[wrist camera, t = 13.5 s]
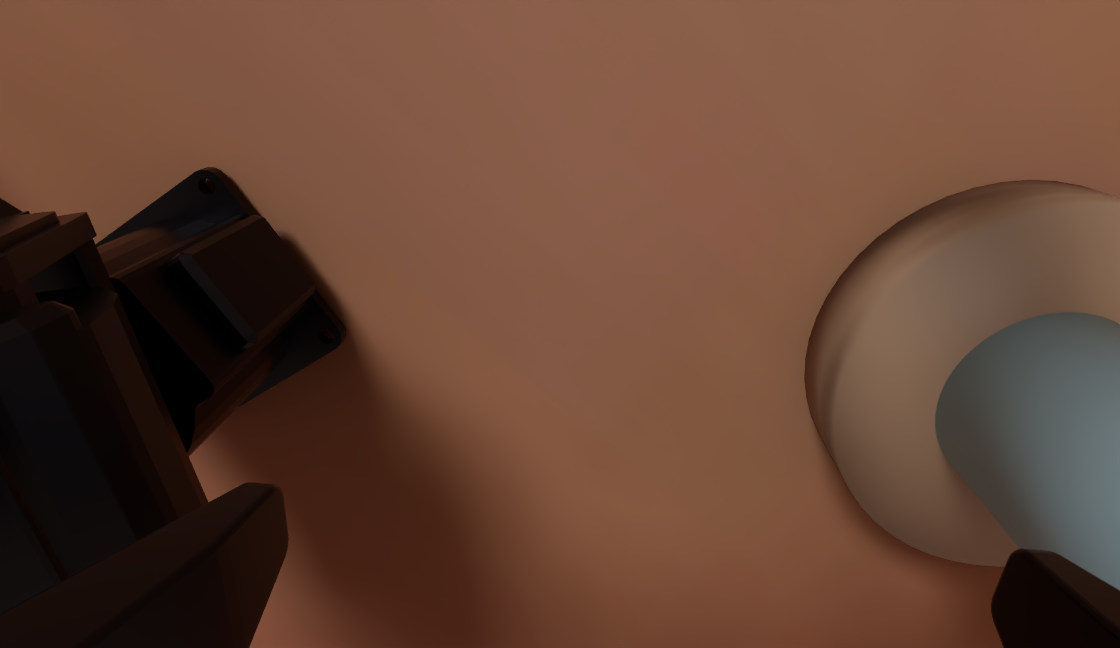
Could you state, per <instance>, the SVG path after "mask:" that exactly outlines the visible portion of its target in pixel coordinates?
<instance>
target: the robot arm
mask: <svg viewBox="0 0 1120 648" xmlns="http://www.w3.org/2000/svg"><path fill="white" fill-rule="evenodd" d="M206 179H210V180H211V181H212V182H213V183H214V185H215V192H211V191H210V190H209V189H208V188H207V186H206V184H205V183H206ZM95 236H97V235H96V232H95V230H94V228H93V225H92V223H91V221H90V218H89V216H88V214H87V212H82V213H75V214H69V215H63V216H57V215H56V212H55V211H51V212H42V213H34V214H30V213H29V211H26V212H22V211H20V210H19V209H17V208H15V207H14V206H12V205H10V204H9V203H7V202H6V201H4V200H2V199H1V198H0V648H249V647H250V644H251V642H252V639H253V637H254V634H255V632H256V629H257V627H258V624H259V622H260V619H261V617H262V614H263V612H264V609H265V607H266V604H267V602H268V599H269V597H270V594H271V592H272V589H273V587H274V584H275V582H276V579H277V576H278V574H279V571H280V569H281V566H282V564H283V561H284V559H285V556H286V553H287V548H288V530H287V522H286V514H285V506H284V498H283V493H282V491H281V489H280V488H279V487H278V486H277V485H274V484H262V483H245V484H243V485H240V486H238V487H237V488H235V489H233V490H231V491H229V492H227V493H225V494H223V495H222V496H220V497H218V498H216V499H214V500H212V501H210V502H209V503H208V500H207V498H206V496H205V493H204V491H203V489H202V486H201V484H200V482H199V480H198V477H197V475H196V473H195V470H194V468H193V466H192V463H191V461H190V459H189V456H190V455H191V454H192V453H193V452H194V451H195V450H196V449H197V448H198V447H199V446H200V445H201V444H202V443H203V442H204V441H205V440H206V439H207V438H208V437H209V435H210V434H211V433H212V432H213V431H214V430H215V429H216V428H217V427H218V426H219V425H220V424H221V423H222V422H223V421H224V420H225V419H226V418H227V417H228V416H229V415H230V414H231V413H232V412H233V411H234V410H235V409H236V408H237V407H239V406H241V405H242V404H244V403H246V402H247V401H249V400H251V399H252V398H254V397H256V396H257V395H259V394H261V393H262V392H264V391H266V390H267V389H269V388H271V387H272V386H274V385H276V384H277V383H279V382H281V381H282V380H284V379H286V378H288V377H289V376H291V375H293V374H294V373H296V372H298V371H299V370H301V369H303V368H304V367H306V366H308V365H309V364H311V363H313V362H314V361H316V360H318V359H319V358H321V357H323V356H324V355H326V354H328V353H329V352H331V351H333V350H335V349H336V348H337V347H338V346H339V345H340V344H341V343H342V342H343V341H344V339H345V336H346V329H345V327H344V325H343V324H342V322H341V321H340V320H339V318H338V317H337V316H336V315H335V313H334V312H333V311H332V310H331V308H330V307H329V306H328V304H327V303H326V302H325V301H324V299H323V298H322V297H321V296H320V294H319V293H318V292H317V290H316V289H315V282H314V281H313V279H312V278H311V277H310V276H309V274H308V273H307V272H306V270H305V269H304V268H303V267H302V265H301V264H300V263H299V262H298V260H297V259H296V258H295V256H294V255H293V254H292V253H291V251H290V250H289V249H288V247H287V246H286V245H285V244H284V242H283V241H282V240H281V238H280V237H279V236H278V235H277V233H276V232H275V231H274V230H273V228H272V227H271V226H270V224H269V223H268V222H267V221H266V219H265V218H263V217H260V216H258V215H257V214H256V213H255V211H254V210H253V209H252V208H251V206H250V205H249V204H248V202H247V201H246V200H245V199H244V197H243V196H242V195H241V194H240V192H239V191H238V190H237V188H236V187H235V186H234V185H233V183H232V182H231V181H230V180H229V178H228V177H227V176H226V175H225V174H224V173H223V172H222V171H221V170H219V169H217V168H214V167H207V168H204V169H201V170H199V171H196V172H194V173H193V174H191V175H190V176H189V177H187V178H186V179H185V180H183V181H182V182H181V183H179V184H178V185H176V186H175V187H174V188H172V189H171V190H170V191H168V192H167V193H165V194H164V195H163V196H161V197H160V198H159V199H157V200H156V201H155V202H153V203H152V204H150V205H149V206H148V207H146V208H145V209H144V210H142V211H141V212H139V213H138V214H137V215H135V216H134V217H133V218H131V219H130V220H129V221H127V222H126V223H124V224H123V225H122V226H120V227H119V228H118V229H116V230H115V231H113V232H112V233H111V234H109V235H108V236H107V237H105V238H104V239H103V240H101V241H100V242H98V243H97V244H96V245H95V243H94V240H93V238H94V237H95ZM323 329H328V330H330V331H331V332H332V333H333V335H334V338H328V337H327V336H325V335H324V333H323ZM991 612H992V618H993V621H994V624H995V627H996V629H997V632H998V634H999V637H1000V639H1001V642H1002V645H1003V647H1004V648H1120V590H1118V589H1117V588H1115V587H1113V586H1112V585H1110V584H1108V583H1107V582H1105V581H1103V580H1101V579H1100V578H1098V577H1096V576H1095V575H1093V574H1091V573H1090V572H1088V571H1086V570H1085V569H1083V568H1081V567H1080V566H1078V565H1076V564H1074V563H1073V562H1071V561H1069V560H1068V559H1066V558H1064V557H1063V556H1061V555H1059V554H1057V553H1055V552H1052V551H1048V550H1037V549H1025V548H1021V549H1017V550H1015V551H1013V552H1012V553H1011V554H1010V556H1009V557H1008V560H1007V562H1006V565H1005V567H1004V570H1003V572H1002V575H1001V577H1000V580H999V582H998V584H997V587H996V589H995V592H994V594H993V597H992V602H991Z"/></svg>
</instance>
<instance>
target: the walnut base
mask: <svg viewBox="0 0 1120 648" xmlns="http://www.w3.org/2000/svg"><path fill="white" fill-rule="evenodd" d="M1060 312H1078V313H1088V314H1093V315H1098V316H1102V317H1104V318H1107V319H1110V320H1113V321H1115V322H1117V323H1118V324H1120V198H1118V197H1115V196H1112V195H1108V194H1105V193H1102V192H1099V191H1096V190H1093V189H1090V188H1086V187H1083V186H1080V185H1074V184H1068V183H1063V182H1057V181H1040V180H1023V181H1011V182H1000V183H996V184H991V185H986V186H981V187H976V188H972V189H969V190H966V191H963V192H960V193H957V194H954V195H951V196H948V197H945V198H943V199H941V200H939V201H936V202H934V203H932V204H930V205H928V206H925V207H923V208H921V209H920V210H918V211H916V212H914V213H913V214H911V215H909V216H908V217H906V218H904V219H903V220H901V221H899V222H898V223H896V224H895V225H894V226H892V227H891V228H890V229H888V230H887V231H886V232H884V233H883V234H882V235H880V236H879V237H878V238H876V239H875V240H874V241H873V242H872V243H871V244H870V245H869V246H868V247H867V248H866V249H864V250H863V251H862V252H861V253H860V254H859V255H858V256H857V257H856V258H855V259H854V261H853V262H852V263H851V264H850V265H849V267H848V268H847V269H846V270H845V271H844V272H843V274H842V275H841V276H840V278H839V279H838V281H837V282H836V284H835V285H834V287H833V288H832V290H831V291H830V293H829V294H828V296H827V297H826V299H825V301H824V303H823V305H822V307H821V309H820V311H819V313H818V315H817V318H816V321H815V324H814V326H813V329H812V332H811V335H810V338H809V343H808V348H807V354H806V359H805V388H806V397H807V402H808V405H809V409H810V413H811V416H812V419H813V421H814V423H815V425H816V428H817V430H818V432H819V434H820V436H821V438H822V440H823V442H824V443H825V445H826V447H827V449H828V451H829V453H830V455H831V456H832V458H833V460H834V462H835V464H836V466H837V468H838V469H839V471H840V473H841V475H842V477H843V479H844V480H845V482H846V484H847V486H848V488H849V490H850V491H851V493H852V494H853V496H854V497H855V499H856V500H857V502H858V503H859V505H860V506H861V507H862V509H863V510H864V511H865V512H866V513H867V514H868V515H869V516H870V517H871V518H872V519H873V521H874V522H876V523H877V524H878V525H879V526H881V527H882V528H883V529H884V530H886V531H887V532H888V533H889V534H891V535H892V536H894V537H895V538H897V539H899V540H901V541H902V542H904V543H906V544H907V545H909V546H911V547H913V548H916V549H918V550H920V551H923V552H925V553H927V554H930V555H933V556H937V557H940V558H943V559H947V560H950V561H955V562H961V563H966V564H972V565H982V566H997V567H1005V565H1006V562H1007V560H1008V557H1009V556H1010V554H1011V553H1012V552H1013V551H1015V550H1017V549H1019V548H1018V546H1017V545H1016V544H1015V543H1014V541H1013V540H1012V539H1011V538H1010V536H1009V535H1008V534H1007V533H1006V532H1005V530H1004V529H1003V528H1002V527H1001V525H1000V524H999V523H998V522H997V520H996V519H995V518H994V517H993V515H992V514H991V513H990V512H989V511H988V509H987V508H986V507H985V506H984V504H983V503H982V502H981V501H980V499H979V498H978V497H977V496H976V494H975V493H974V492H973V491H972V489H971V488H970V487H969V486H968V485H967V483H966V482H965V481H964V480H963V478H962V477H961V476H960V475H959V473H958V472H957V471H956V470H955V468H954V467H953V466H952V465H951V463H950V462H949V461H948V460H947V458H946V457H945V455H944V454H943V452H942V450H941V448H940V445H939V443H938V440H937V436H936V429H935V414H936V408H937V403H938V400H939V397H940V394H941V391H942V389H943V387H944V385H945V383H946V381H947V379H948V378H949V376H950V375H951V373H952V372H953V370H954V369H955V368H956V366H957V365H958V364H959V363H960V361H961V360H962V359H963V358H964V357H965V356H966V355H967V354H968V353H969V352H970V351H971V350H972V349H973V348H975V347H976V346H977V345H979V344H980V343H981V342H982V341H984V340H985V339H987V338H988V337H990V336H991V335H993V334H994V333H996V332H998V331H1000V330H1002V329H1004V328H1006V327H1008V326H1010V325H1012V324H1014V323H1017V322H1020V321H1022V320H1025V319H1028V318H1032V317H1036V316H1040V315H1045V314H1051V313H1060Z"/></svg>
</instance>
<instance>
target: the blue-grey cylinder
mask: <svg viewBox="0 0 1120 648" xmlns="http://www.w3.org/2000/svg"><path fill="white" fill-rule="evenodd" d="M935 429H936V436H937V440H938V443H939V445H940V448H941V450H942V452H943V454H944V455H945V457H946V458H947V460H948V461H949V462H950V463H951V465H952V466H953V467H954V468H955V470H956V471H957V472H958V473H959V475H960V476H961V477H962V478H963V480H964V481H965V482H966V483H967V485H968V486H969V487H970V488H971V489H972V491H973V492H974V493H975V494H976V496H977V497H978V498H979V499H980V501H981V502H982V503H983V504H984V506H985V507H986V508H987V509H988V511H989V512H990V513H991V514H992V515H993V517H994V518H995V519H996V520H997V522H998V523H999V524H1000V525H1001V527H1002V528H1003V529H1004V530H1005V532H1006V533H1007V534H1008V535H1009V536H1010V538H1011V539H1012V540H1013V541H1014V543H1015V544H1016V545H1017V546H1018V548H1019V549H1021V548H1025V549H1037V550H1048V551H1052V552H1055V553H1057V554H1059V555H1061V556H1063V557H1064V558H1066V559H1068V560H1069V561H1071V562H1073V563H1074V564H1076V565H1078V566H1080V567H1081V568H1083V569H1085V570H1086V571H1088V572H1090V573H1091V574H1093V575H1095V576H1096V577H1098V578H1100V579H1101V580H1103V581H1105V582H1107V583H1108V584H1110V585H1112V586H1113V587H1115V588H1117V589H1118V590H1120V324H1118V323H1117V322H1115V321H1113V320H1110V319H1107V318H1104V317H1102V316H1098V315H1093V314H1088V313H1078V312H1060V313H1051V314H1045V315H1040V316H1036V317H1032V318H1028V319H1025V320H1022V321H1020V322H1017V323H1014V324H1012V325H1010V326H1008V327H1006V328H1004V329H1002V330H1000V331H998V332H996V333H994V334H993V335H991V336H990V337H988V338H987V339H985V340H984V341H982V342H981V343H980V344H979V345H977V346H976V347H975V348H973V349H972V350H971V351H970V352H969V353H968V354H967V355H966V356H965V357H964V358H963V359H962V360H961V361H960V363H959V364H958V365H957V366H956V368H955V369H954V370H953V372H952V373H951V375H950V376H949V378H948V379H947V381H946V383H945V385H944V387H943V389H942V391H941V394H940V397H939V400H938V403H937V408H936V414H935Z"/></svg>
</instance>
